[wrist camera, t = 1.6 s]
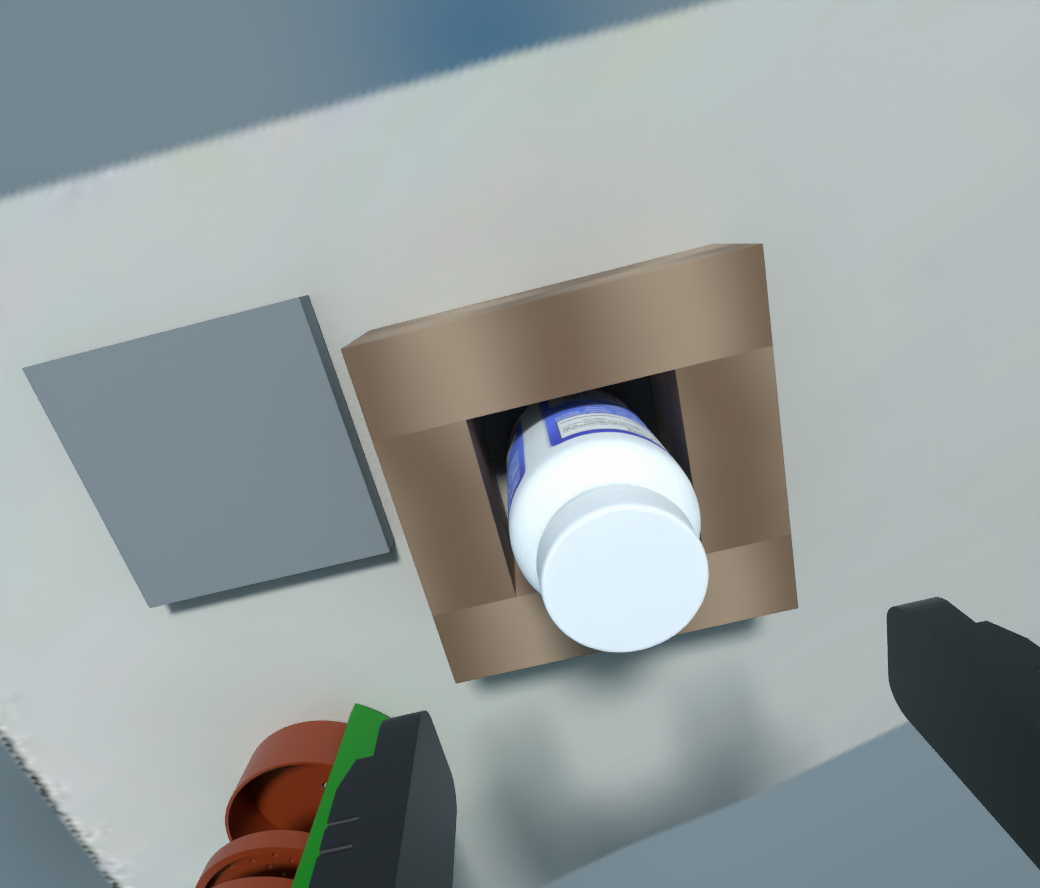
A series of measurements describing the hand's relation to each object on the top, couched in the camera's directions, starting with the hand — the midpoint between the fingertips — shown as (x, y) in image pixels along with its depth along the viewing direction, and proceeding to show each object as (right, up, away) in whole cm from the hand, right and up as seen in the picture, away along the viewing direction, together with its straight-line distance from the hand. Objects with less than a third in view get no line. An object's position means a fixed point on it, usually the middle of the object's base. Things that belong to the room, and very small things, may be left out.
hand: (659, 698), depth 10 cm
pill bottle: (0, +4, +13) cm, 14 cm away
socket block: (0, +4, +13) cm, 13 cm away
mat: (-14, +4, +12) cm, 19 cm away
